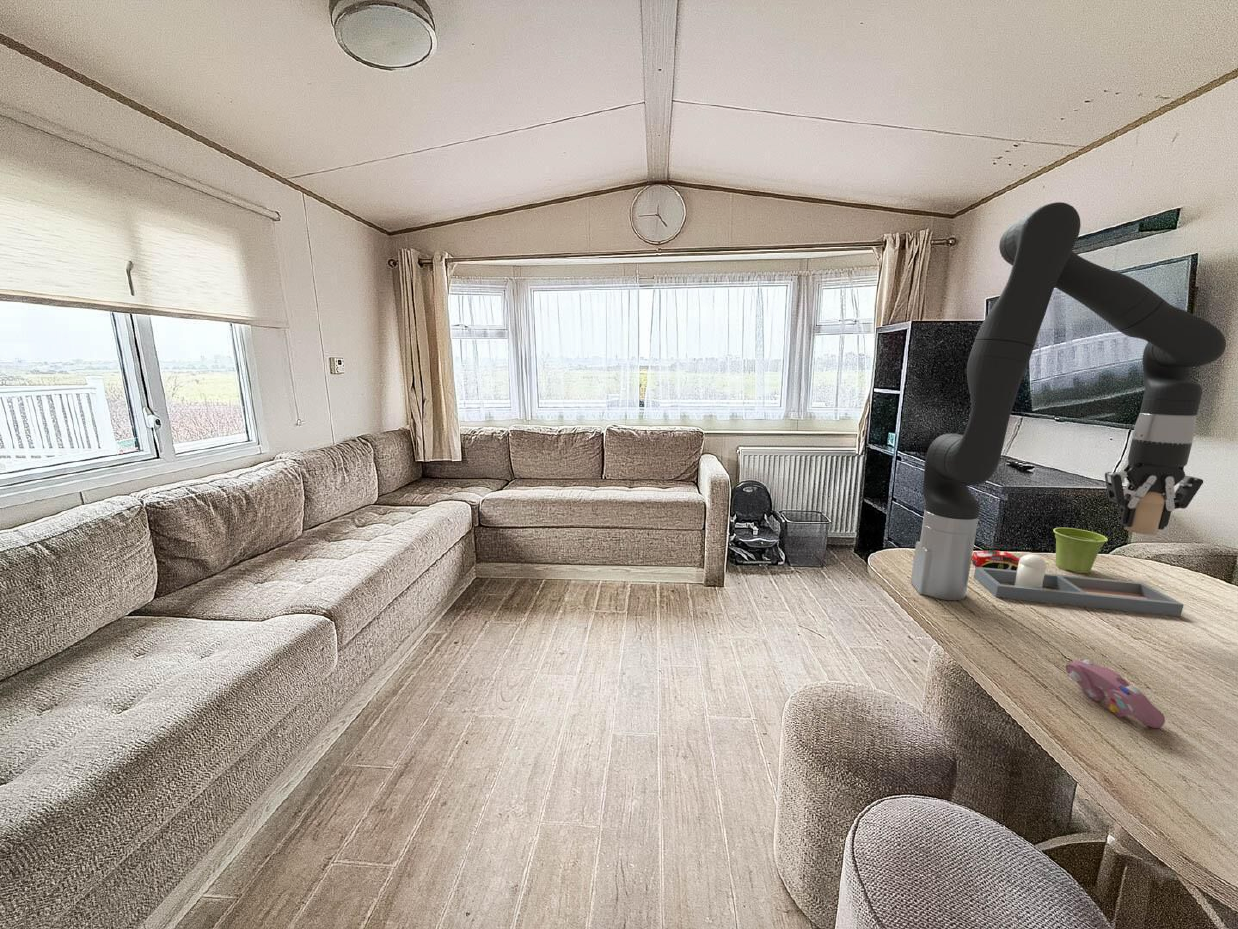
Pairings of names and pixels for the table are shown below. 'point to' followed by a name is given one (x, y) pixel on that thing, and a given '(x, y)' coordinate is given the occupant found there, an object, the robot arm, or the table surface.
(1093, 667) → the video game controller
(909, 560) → the table surface
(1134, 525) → the beige capsule
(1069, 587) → the divided rectangular frame
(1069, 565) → the plant pot
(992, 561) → the race car
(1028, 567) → the white capsule
